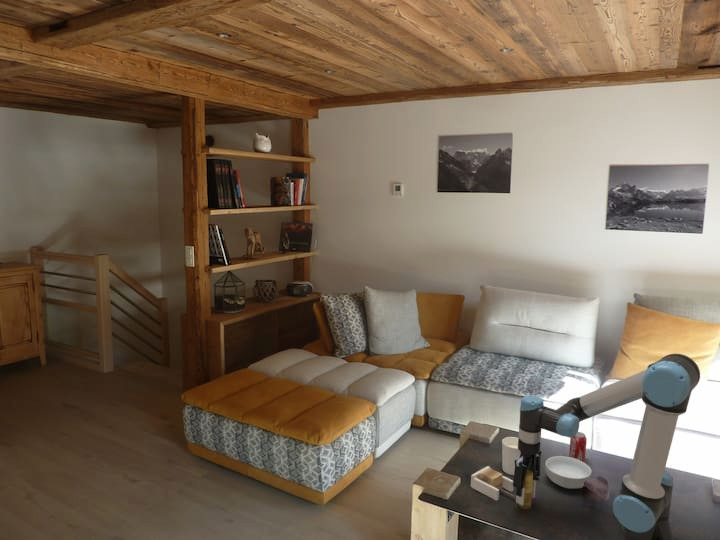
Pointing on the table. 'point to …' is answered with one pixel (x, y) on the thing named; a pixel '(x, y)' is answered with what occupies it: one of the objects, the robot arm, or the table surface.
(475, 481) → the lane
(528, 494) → the tethered block
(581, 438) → the beverage can
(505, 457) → the candle holder
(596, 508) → the table surface
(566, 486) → the cereal bowl
